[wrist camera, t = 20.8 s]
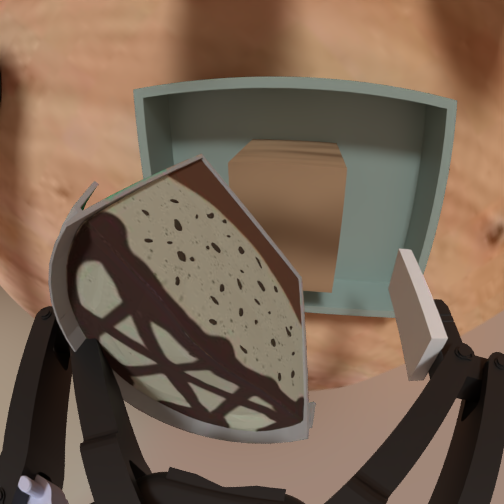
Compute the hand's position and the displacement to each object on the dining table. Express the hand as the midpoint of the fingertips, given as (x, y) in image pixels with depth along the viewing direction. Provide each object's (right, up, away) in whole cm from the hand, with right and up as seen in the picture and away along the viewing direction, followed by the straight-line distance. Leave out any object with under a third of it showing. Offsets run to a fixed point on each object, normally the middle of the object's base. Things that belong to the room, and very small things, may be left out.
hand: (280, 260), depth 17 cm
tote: (+2, +6, +10) cm, 12 cm away
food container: (-4, +1, +2) cm, 4 cm away
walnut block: (+2, +6, +9) cm, 11 cm away
